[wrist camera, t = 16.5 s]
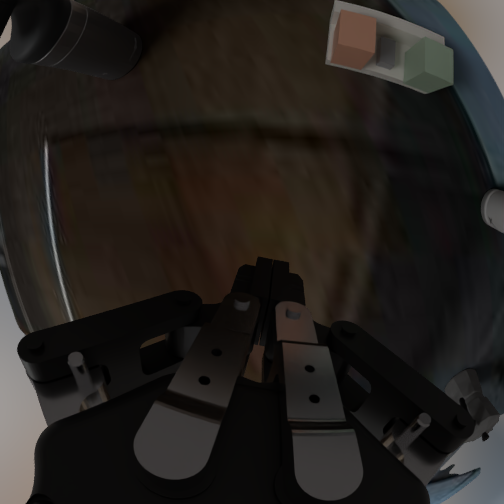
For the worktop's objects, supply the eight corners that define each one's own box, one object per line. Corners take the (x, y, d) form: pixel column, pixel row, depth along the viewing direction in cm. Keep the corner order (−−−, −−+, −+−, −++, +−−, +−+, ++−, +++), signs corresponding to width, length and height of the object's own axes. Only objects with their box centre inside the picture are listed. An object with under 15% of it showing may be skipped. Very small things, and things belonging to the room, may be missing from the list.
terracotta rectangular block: (330, 62, 28) (338, 43, 21) (333, 32, 26) (341, 9, 20) (360, 70, 27) (374, 53, 21) (363, 39, 26) (376, 18, 19)
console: (325, 64, 30) (330, 49, 24) (330, 19, 27) (334, -1, 21) (425, 94, 28) (444, 87, 23) (426, 49, 26) (444, 37, 20)
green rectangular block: (403, 83, 27) (424, 71, 20) (404, 52, 25) (424, 36, 19) (428, 93, 27) (453, 84, 20) (430, 62, 25) (453, 49, 18)
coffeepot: (483, 376, 43) (511, 428, 26) (456, 401, 46) (477, 455, 30) (460, 356, 42) (493, 417, 25) (428, 385, 45) (451, 449, 29)
